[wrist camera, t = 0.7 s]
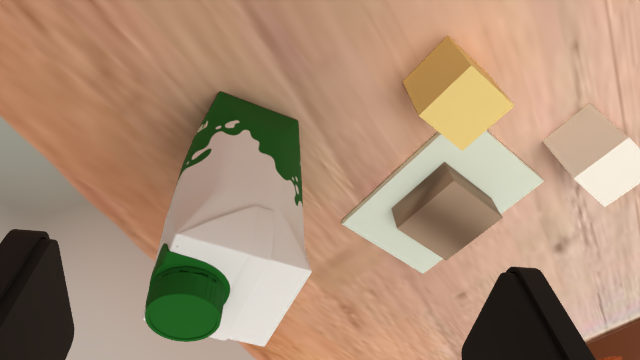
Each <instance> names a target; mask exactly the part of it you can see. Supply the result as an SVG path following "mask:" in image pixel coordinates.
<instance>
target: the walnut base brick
mask: <svg viewBox="0 0 640 360" xmlns="http://www.w3.org/2000/svg"><path fill="white" fill-rule="evenodd" d="M391 209H392V213H393V216H394V220H395V223H396V227H397V229H398V230H400V231H401V232H403V233H404V234H406V235H407V236H409V237H411V238H412V239H414V240H415V241H417V242H418V243H420V244H421V245H423V246H424V247H426V248H428V249H429V250H431V251H432V252H434V253H435V254H437V255H438V256H440V257H441V258H443V259H444V260H448V259H449V258H450V257H451V256H453V255H454V254H455V253H457V252H458V251H459V250H461V249H462V248H463V247H465V246H466V245H467V244H469V243H470V242H471V241H473V240H474V239H475V238H476V237H478V236H479V235H480V234H482V233H483V232H484V231H486V230H487V229H488V228H490V227H491V226H492V225H494V224H495V223H496V222H498V221H499V220H500V219H502V216H501V214H500V212H499V211H498V209H497V207H496V205H495V203H494V202H493V200H492V198H491V197H490V196H488V195H487V194H486V193H484V192H483V191H482V190H481V189H479V188H478V187H477V186H475V185H474V184H473V183H472V182H470V181H469V180H468V179H466V178H465V177H464V176H463V175H461V174H460V173H459V172H457V171H456V170H455V169H454V168H452V167H451V166H450V165H448V164H447V163H446V162H444V163H442V164H441V165H440V166H439V167H438V168H437V169H436V170H434V171H433V172H432V173H431V174H430V175H429V176H428V177H426V178H425V179H424V180H423V181H422V182H421V183H420V184H418V185H417V186H416V187H415V188H414V189H413V190H412V191H410V192H409V193H408V194H407V195H406V196H405V197H404V198H403V199H401V200H400V201H399V202H398V203H397V204H396V205H395V206H393V207H392V208H391Z"/></svg>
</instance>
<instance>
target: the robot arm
mask: <svg viewBox="0 0 640 360" xmlns="http://www.w3.org/2000/svg"><path fill="white" fill-rule="evenodd" d="M73 337H74V323H73V318H72V313H71V308H70V302H69V297H68V292H67V287H66V282H65V276H64V271H63V266H62V261H61V256H60V250H59V245H58V242H57V241H56V240H52V239H50V238H49V235H48V234H47V232H44V231H31V230H18V229H13V230H11V231H10V232H9V233H8V234H7V235H6V236H5V238H4V239H3V241H2V242H1V243H0V360H65V359H66V357H67V354H68V352H69V350H70V347H71V344H72V341H73ZM462 360H595V358H594V356H593V355H592V353H591V351H590V350H589V348H588V347H587V345H586V343H585V342H584V340H583V338H582V337H581V335H580V334H579V332H578V330H577V329H576V327H575V325H574V324H573V322H572V321H571V319H570V317H569V316H568V314H567V312H566V311H565V309H564V308H563V306H562V304H561V303H560V301H559V299H558V298H557V296H556V295H555V293H554V291H553V290H552V288H551V286H550V285H549V283H548V282H547V280H546V278H545V277H544V275H543V274H542V272H541V271H540V270H538V269H536V268H523V267H510V268H509V269H508V270H507V271H506V273H502V274H500V276H499V277H498V279H497V281H496V283H495V285H494V287H493V289H492V291H491V293H490V295H489V297H488V299H487V300H486V302H485V304H484V306H483V308H482V310H481V312H480V314H479V316H478V318H477V320H476V322H475V323H474V325H473V327H472V329H471V331H470V333H469V335H468V337H467V339H466V341H465V343H464V345H463V347H462Z"/></svg>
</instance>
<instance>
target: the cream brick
mask: <svg viewBox="0 0 640 360" xmlns="http://www.w3.org/2000/svg"><path fill="white" fill-rule="evenodd" d="M543 143H544V144H545V145H546V146H547V147H548V149H549V150H550V151H551V152H552V153H553V155H554V156H555V157H556V158H557V159H558V161H559V162H560V163H561V164H562V165H563V167H564V168H565V169H566V170H567V171H568V173H569V174H570V175H571V176H572V177H573V179H575V180H576V181H577V182H578V183H579V184H580V185H581V186H582V187H583V188H584V189H586V190H587V191H588V192H589V193H590V194H591V195H592V196H593V197H594V198H595V199H597V200H598V201H599V202H600V203H601V204H602V205H603V206H604V207H606V206H607V205H609V204H610V203H612V202H613V201H615V200H616V199H618V198H619V197H620V196H622V195H623V194H625V193H626V192H628V191H629V190H631V189H632V188H633V187H635V186H636V185H638V184H639V183H640V149H639V148H638V147H637V145H636V144H635V143H634V142H633V141H632V140H631V139H630V138H629V137H628V136H627V135H626V134H625V133H623V132H622V131H621V130H620V129H619V128H618V127H617V126H616V125H614V124H613V123H612V122H611V121H610V120H609V119H608V118H607V117H605V116H604V115H603V114H602V113H601V112H600V111H599V110H597V109H596V108H595V107H594V106H593V105H592V104H591V103H589V104H587V105H586V106H585V107H584V108H582V109H581V110H580V111H579V112H578V113H576V114H575V115H574V116H573V117H571V118H570V119H569V120H568V121H566V122H565V123H564V124H563V125H561V126H560V127H559V128H558V129H556V130H555V131H554V132H553V133H552V134H550V135H549V136H548V137H547V138H545V139H544V140H543Z"/></svg>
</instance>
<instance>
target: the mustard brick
mask: <svg viewBox="0 0 640 360" xmlns="http://www.w3.org/2000/svg"><path fill="white" fill-rule="evenodd" d="M403 83H404V86H405V88H406V90H407V92H408V94H409V96H410V98H411V101H412V103H413V105H414V107H415V109H416V111H417V113H418V116H420V117H421V118H422V119H423V120H424V121H426V122H427V123H428V124H429V125H431V126H432V127H433V128H434V129H436V130H437V131H438V132H439V133H441V134H442V135H443V136H444V137H445V138H447V139H448V140H449V141H450V142H452V143H453V144H454V145H455V146H457V147H458V148H459V149H460V150H462V151H463V150H464V149H465V148H466V147H468V146H469V145H470V144H471V143H472V142H473V141H474V140H476V139H477V138H478V137H479V136H480V135H481V134H483V133H484V132H485V131H486V130H487V129H488V128H489V127H491V126H492V125H493V124H494V123H495V122H496V121H498V120H499V119H500V118H501V117H502V116H503V115H504V114H506V113H507V112H508V111H509V110H510V109H511V108H513V107H514V104H513V103H512V102H511V101H510V100H509V98H508V97H507V96H506V95H505V94H504V92H503V91H502V90H501V89H500V88H499V86H498V85H497V84H496V83H495V82H494V80H493V79H492V78H491V77H490V76H489V75H488V73H487V72H486V71H485V70H484V69H483V68H482V67H480V66H479V65H478V64H477V63H476V62H475V61H474V60H473V59H472V58H471V57H470V56H469V55H468V54H467V53H466V52H465V51H464V50H463V49H461V48H460V47H459V46H458V45H457V44H456V43H455V42H454V41H453V40H452V39H451V38H450V37H449V36H447V37H446V38H445V39H444V40H443V41H442V42H441V43H440V44H439V45H438V46H437V47H436V48H435V49H434V50H433V51H432V52H431V53H430V54H429V55H428V56H427V57H426V58H425V59H424V60H423V61H422V62H421V63H420V64H419V65H418V66H417V67H416V68H415V69H414V71H413V72H412V73H411V74H410V75H409V76H408V77H407V78H406V79H405V80H404V81H403Z"/></svg>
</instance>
